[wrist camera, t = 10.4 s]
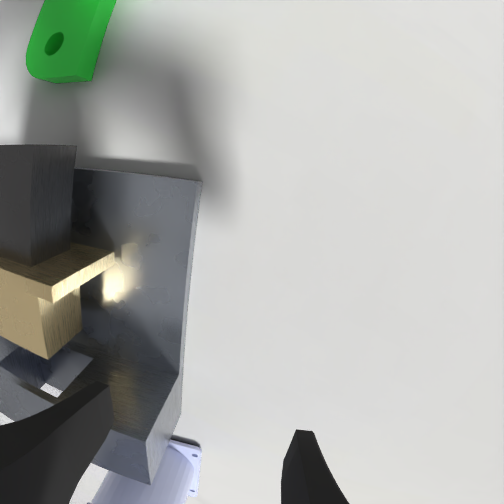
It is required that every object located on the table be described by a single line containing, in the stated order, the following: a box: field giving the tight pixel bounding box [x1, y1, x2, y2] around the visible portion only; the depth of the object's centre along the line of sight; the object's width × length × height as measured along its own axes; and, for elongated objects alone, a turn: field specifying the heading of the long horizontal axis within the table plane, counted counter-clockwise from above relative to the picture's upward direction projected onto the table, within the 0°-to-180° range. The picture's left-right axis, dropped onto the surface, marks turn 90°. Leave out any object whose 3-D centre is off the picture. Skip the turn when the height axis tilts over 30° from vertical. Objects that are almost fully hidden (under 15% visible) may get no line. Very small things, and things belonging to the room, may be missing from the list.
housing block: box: [0, 167, 202, 485], centre depth 17 cm, size 18×18×8 cm
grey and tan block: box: [0, 145, 114, 359], centre depth 15 cm, size 11×9×6 cm
